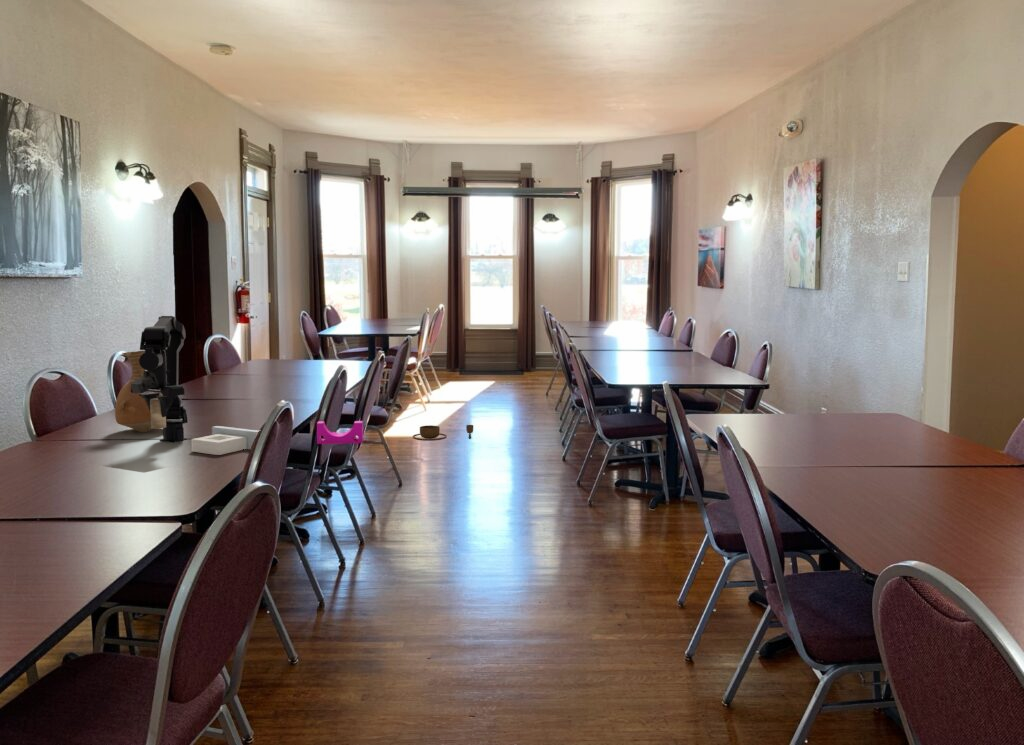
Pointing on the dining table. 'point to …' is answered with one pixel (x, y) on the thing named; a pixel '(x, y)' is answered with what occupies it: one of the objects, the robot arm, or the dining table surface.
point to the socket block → (219, 444)
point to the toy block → (340, 434)
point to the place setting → (436, 433)
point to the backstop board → (236, 433)
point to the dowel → (156, 415)
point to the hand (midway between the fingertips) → (158, 416)
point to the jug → (133, 400)
